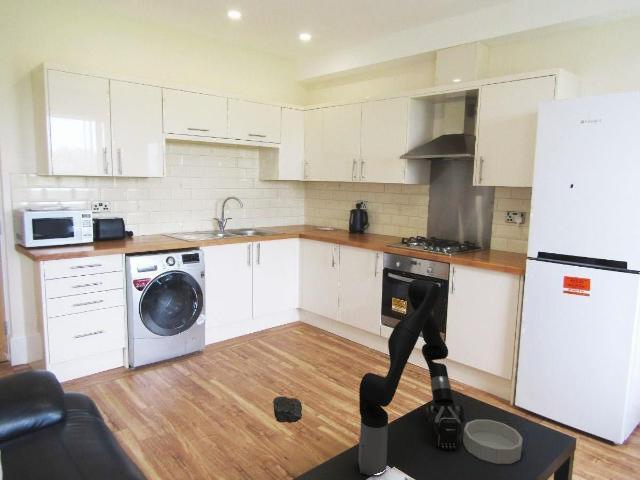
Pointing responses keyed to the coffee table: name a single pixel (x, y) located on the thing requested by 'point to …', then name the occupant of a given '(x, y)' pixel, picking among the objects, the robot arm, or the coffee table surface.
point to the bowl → (492, 441)
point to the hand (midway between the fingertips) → (448, 434)
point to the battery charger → (448, 433)
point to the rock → (287, 409)
